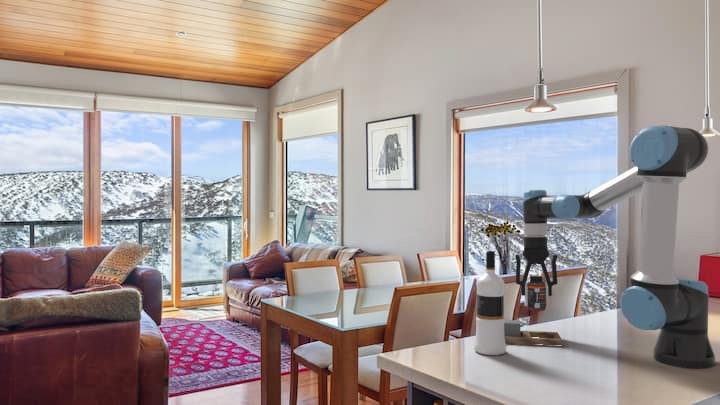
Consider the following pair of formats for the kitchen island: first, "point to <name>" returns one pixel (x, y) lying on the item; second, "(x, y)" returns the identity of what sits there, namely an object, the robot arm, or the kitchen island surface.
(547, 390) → the kitchen island surface
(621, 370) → the kitchen island surface
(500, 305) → the vodka
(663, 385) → the kitchen island surface
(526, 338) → the brown wooden frame
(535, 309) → the supplement bottle
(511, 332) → the block
